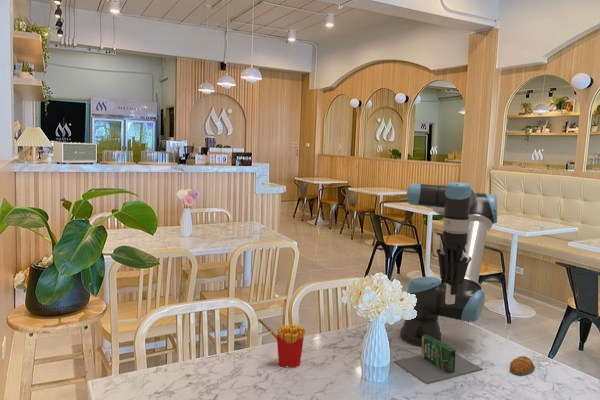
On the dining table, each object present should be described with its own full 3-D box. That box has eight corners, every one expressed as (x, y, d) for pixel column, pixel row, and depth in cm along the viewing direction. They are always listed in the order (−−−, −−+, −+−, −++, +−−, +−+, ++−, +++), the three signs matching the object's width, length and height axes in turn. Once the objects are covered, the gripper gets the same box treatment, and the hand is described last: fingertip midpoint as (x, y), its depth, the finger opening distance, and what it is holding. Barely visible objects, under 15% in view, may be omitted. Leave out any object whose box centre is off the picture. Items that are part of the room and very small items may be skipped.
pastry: (525, 379, 150) (526, 367, 150) (503, 371, 155) (504, 360, 154) (535, 370, 157) (536, 359, 156) (515, 363, 161) (515, 352, 161)
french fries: (275, 367, 152) (277, 328, 150) (276, 361, 156) (277, 323, 155) (304, 367, 152) (305, 329, 151) (303, 361, 157) (305, 324, 155)
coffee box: (448, 375, 151) (420, 357, 162) (455, 372, 152) (426, 355, 163) (450, 351, 149) (421, 335, 161) (456, 349, 151) (428, 333, 162)
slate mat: (393, 362, 158) (393, 360, 158) (447, 350, 169) (447, 349, 169) (426, 384, 144) (426, 383, 144) (482, 369, 155) (482, 368, 155)
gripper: (431, 228, 153) (426, 298, 156) (461, 236, 141) (456, 311, 144) (449, 227, 156) (444, 295, 159) (479, 234, 145) (473, 308, 148)
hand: (449, 303), depth 152 cm, fingers closed
